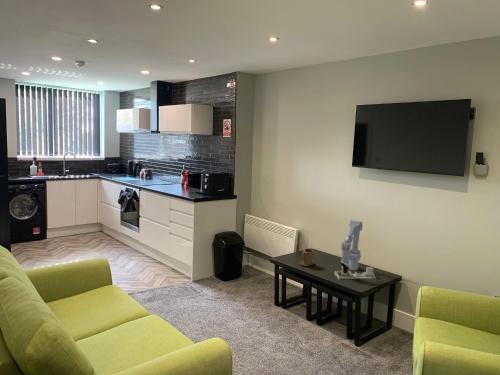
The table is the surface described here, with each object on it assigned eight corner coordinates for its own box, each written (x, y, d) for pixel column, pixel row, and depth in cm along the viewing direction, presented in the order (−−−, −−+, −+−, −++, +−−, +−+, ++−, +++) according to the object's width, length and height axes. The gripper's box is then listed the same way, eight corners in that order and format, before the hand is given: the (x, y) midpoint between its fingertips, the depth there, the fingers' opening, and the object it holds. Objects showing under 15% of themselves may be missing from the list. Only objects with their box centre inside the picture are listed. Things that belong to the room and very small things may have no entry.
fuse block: (351, 274, 323) (351, 270, 323) (372, 274, 324) (372, 270, 324) (355, 279, 313) (355, 275, 313) (376, 279, 314) (376, 275, 314)
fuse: (365, 275, 320) (366, 267, 319) (371, 275, 321) (371, 267, 320) (366, 276, 317) (367, 268, 316) (372, 276, 318) (373, 268, 317)
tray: (334, 274, 324) (334, 271, 324) (349, 274, 325) (349, 271, 324) (338, 280, 311) (339, 276, 311) (354, 280, 312) (354, 276, 311)
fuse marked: (341, 273, 319) (341, 265, 318) (347, 273, 319) (347, 265, 318) (342, 275, 316) (342, 267, 315) (348, 275, 316) (348, 267, 315)
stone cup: (306, 268, 336) (307, 252, 334) (297, 264, 346) (297, 248, 344) (318, 265, 346) (319, 249, 343) (309, 261, 355) (309, 245, 353)
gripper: (338, 253, 322) (337, 269, 324) (343, 259, 308) (342, 275, 310) (346, 253, 323) (345, 269, 325) (351, 259, 308) (350, 275, 310)
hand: (344, 272), depth 317 cm, fingers closed on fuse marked, 3 cm apart
